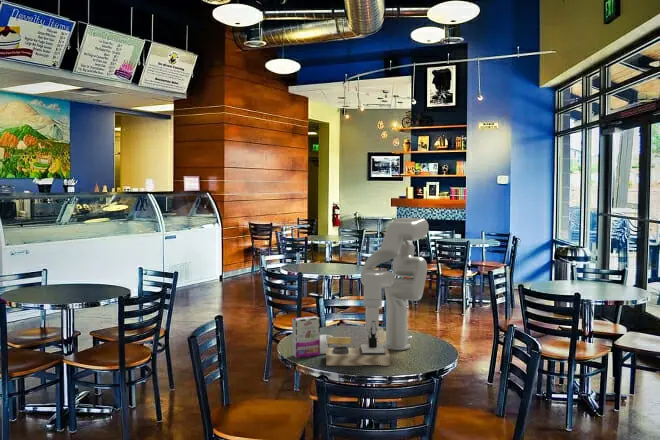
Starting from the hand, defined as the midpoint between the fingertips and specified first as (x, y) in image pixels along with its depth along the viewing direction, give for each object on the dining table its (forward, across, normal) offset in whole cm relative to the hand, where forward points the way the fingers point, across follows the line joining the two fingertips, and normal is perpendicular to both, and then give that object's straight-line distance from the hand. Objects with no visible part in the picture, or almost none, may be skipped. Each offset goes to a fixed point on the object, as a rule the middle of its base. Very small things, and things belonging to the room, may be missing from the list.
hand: (372, 345), depth 247 cm
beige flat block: (+7, 0, -6) cm, 9 cm away
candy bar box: (+7, -8, -28) cm, 30 cm away
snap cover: (+2, 0, 0) cm, 2 cm away
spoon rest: (+7, -22, -21) cm, 31 cm away
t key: (+7, -15, -13) cm, 21 cm away
